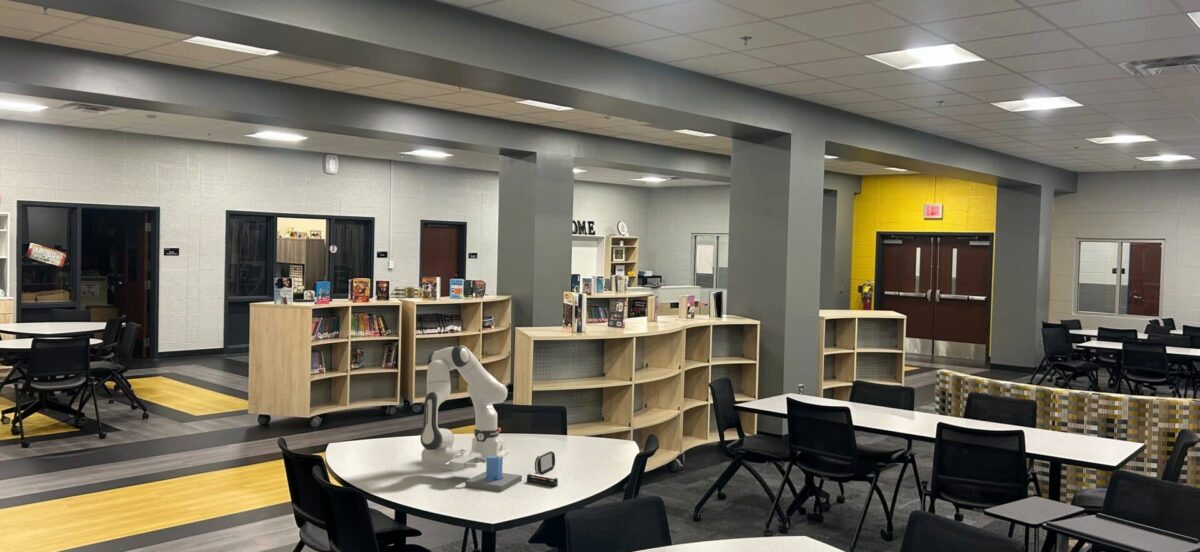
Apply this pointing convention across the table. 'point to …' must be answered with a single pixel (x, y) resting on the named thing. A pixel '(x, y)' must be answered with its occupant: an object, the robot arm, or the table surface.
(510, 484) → the plate
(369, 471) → the table surface
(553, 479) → the black flat block
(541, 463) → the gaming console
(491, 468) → the blue rectangular block
